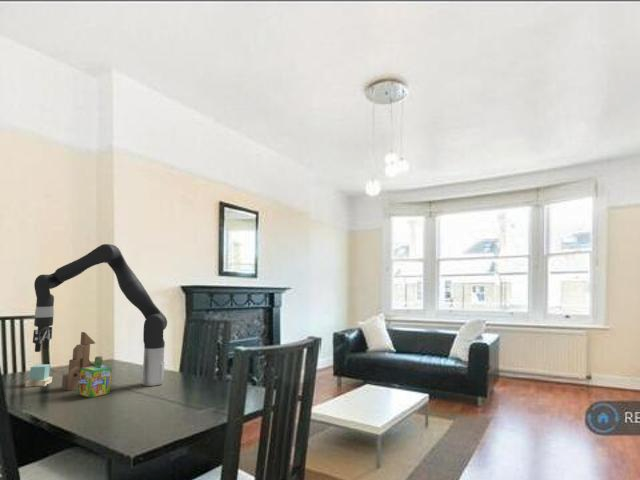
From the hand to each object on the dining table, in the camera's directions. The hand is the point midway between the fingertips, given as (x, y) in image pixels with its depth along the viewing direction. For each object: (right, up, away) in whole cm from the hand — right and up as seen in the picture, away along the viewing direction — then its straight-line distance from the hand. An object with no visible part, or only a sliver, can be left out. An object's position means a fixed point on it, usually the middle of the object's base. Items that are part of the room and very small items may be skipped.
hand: (41, 350), depth 195 cm
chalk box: (+35, -15, -17) cm, 41 cm away
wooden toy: (+22, -16, -4) cm, 27 cm away
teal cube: (0, -13, -1) cm, 13 cm away
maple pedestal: (0, -16, -2) cm, 16 cm away
